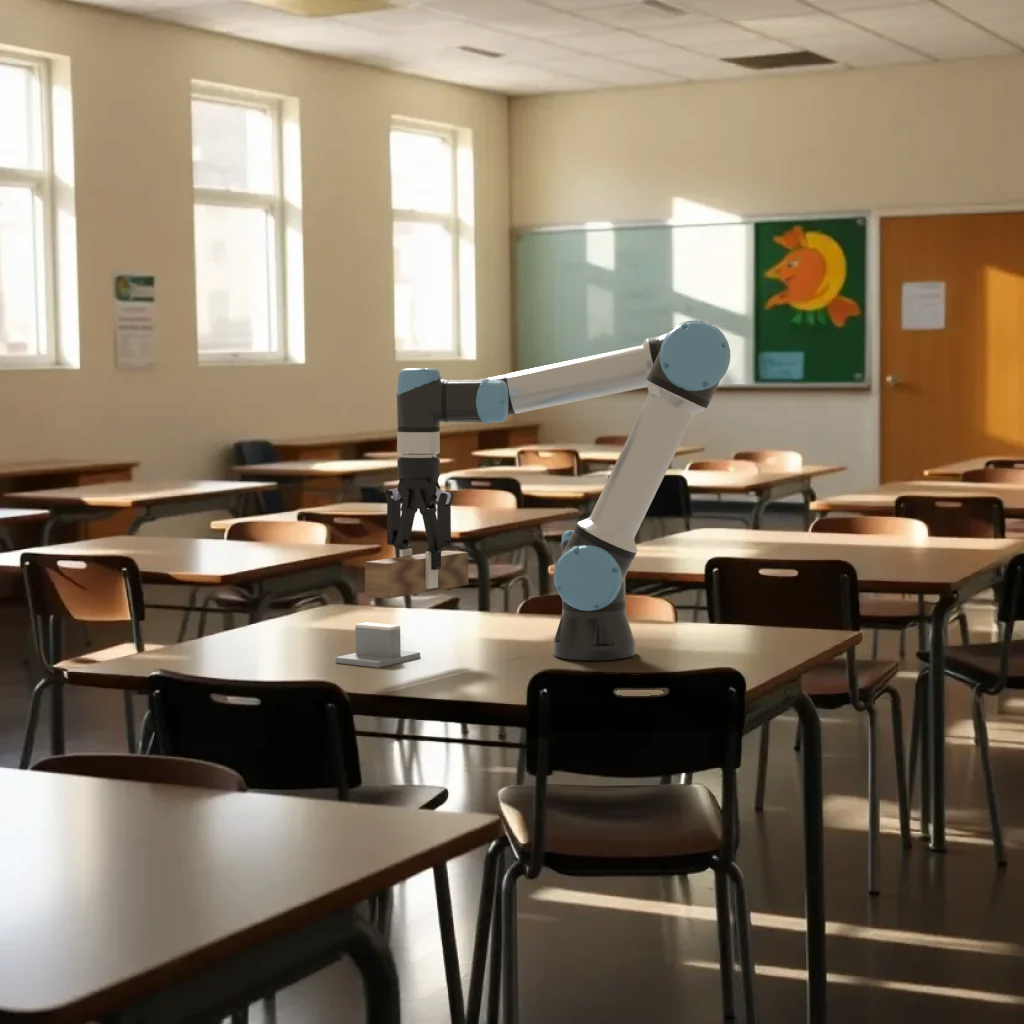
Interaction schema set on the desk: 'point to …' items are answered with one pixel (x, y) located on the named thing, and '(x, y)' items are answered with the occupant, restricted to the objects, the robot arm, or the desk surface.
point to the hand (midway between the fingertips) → (418, 586)
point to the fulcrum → (377, 646)
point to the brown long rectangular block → (413, 574)
